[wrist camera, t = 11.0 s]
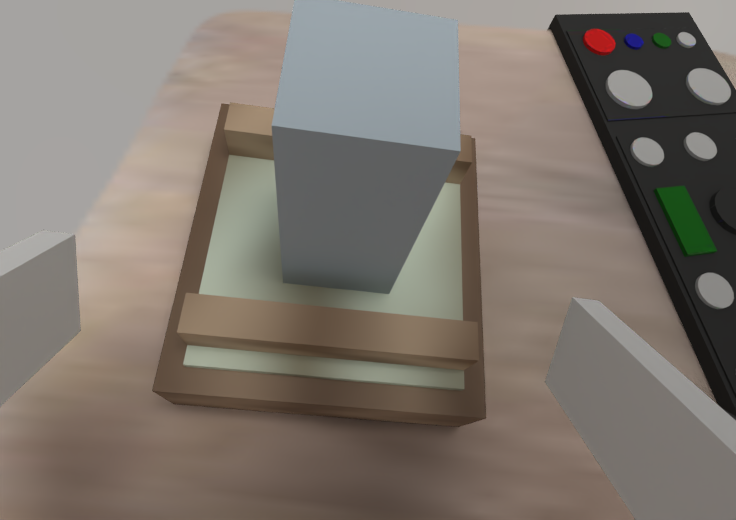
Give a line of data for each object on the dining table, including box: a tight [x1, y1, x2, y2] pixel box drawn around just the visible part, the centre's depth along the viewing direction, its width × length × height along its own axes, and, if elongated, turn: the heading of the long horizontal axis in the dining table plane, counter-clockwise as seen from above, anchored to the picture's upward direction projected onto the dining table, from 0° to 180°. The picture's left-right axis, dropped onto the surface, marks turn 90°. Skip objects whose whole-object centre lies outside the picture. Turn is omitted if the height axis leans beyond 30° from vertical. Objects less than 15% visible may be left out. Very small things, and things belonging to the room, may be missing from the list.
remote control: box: [547, 13, 736, 416], centre depth 30 cm, size 11×30×2 cm, turn 11°
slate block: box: [272, 0, 461, 294], centre depth 17 cm, size 4×4×10 cm
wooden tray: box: [152, 102, 486, 427], centre depth 22 cm, size 13×14×6 cm
